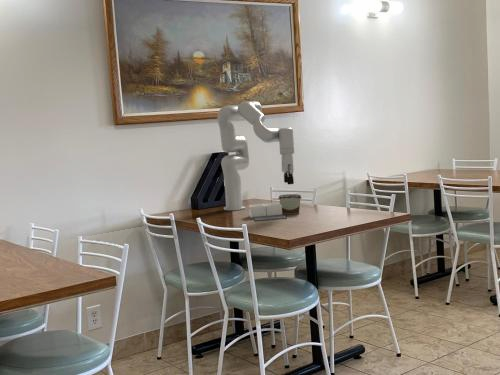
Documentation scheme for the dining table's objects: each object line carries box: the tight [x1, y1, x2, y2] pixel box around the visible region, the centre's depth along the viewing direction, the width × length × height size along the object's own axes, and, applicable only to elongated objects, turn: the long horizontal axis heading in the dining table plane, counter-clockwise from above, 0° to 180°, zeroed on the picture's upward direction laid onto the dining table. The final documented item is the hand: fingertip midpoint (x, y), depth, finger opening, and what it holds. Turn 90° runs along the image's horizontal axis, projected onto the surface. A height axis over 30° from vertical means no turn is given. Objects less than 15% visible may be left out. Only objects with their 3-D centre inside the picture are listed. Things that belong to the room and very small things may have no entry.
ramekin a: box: [248, 203, 266, 219], centre depth 336 cm, size 8×8×6 cm
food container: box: [278, 193, 302, 215], centre depth 339 cm, size 12×6×10 cm, turn 85°
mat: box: [252, 214, 288, 222], centre depth 329 cm, size 12×16×1 cm
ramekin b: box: [263, 202, 282, 216], centre depth 337 cm, size 8×8×6 cm
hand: (288, 183), depth 338 cm, fingers open, 9 cm apart
